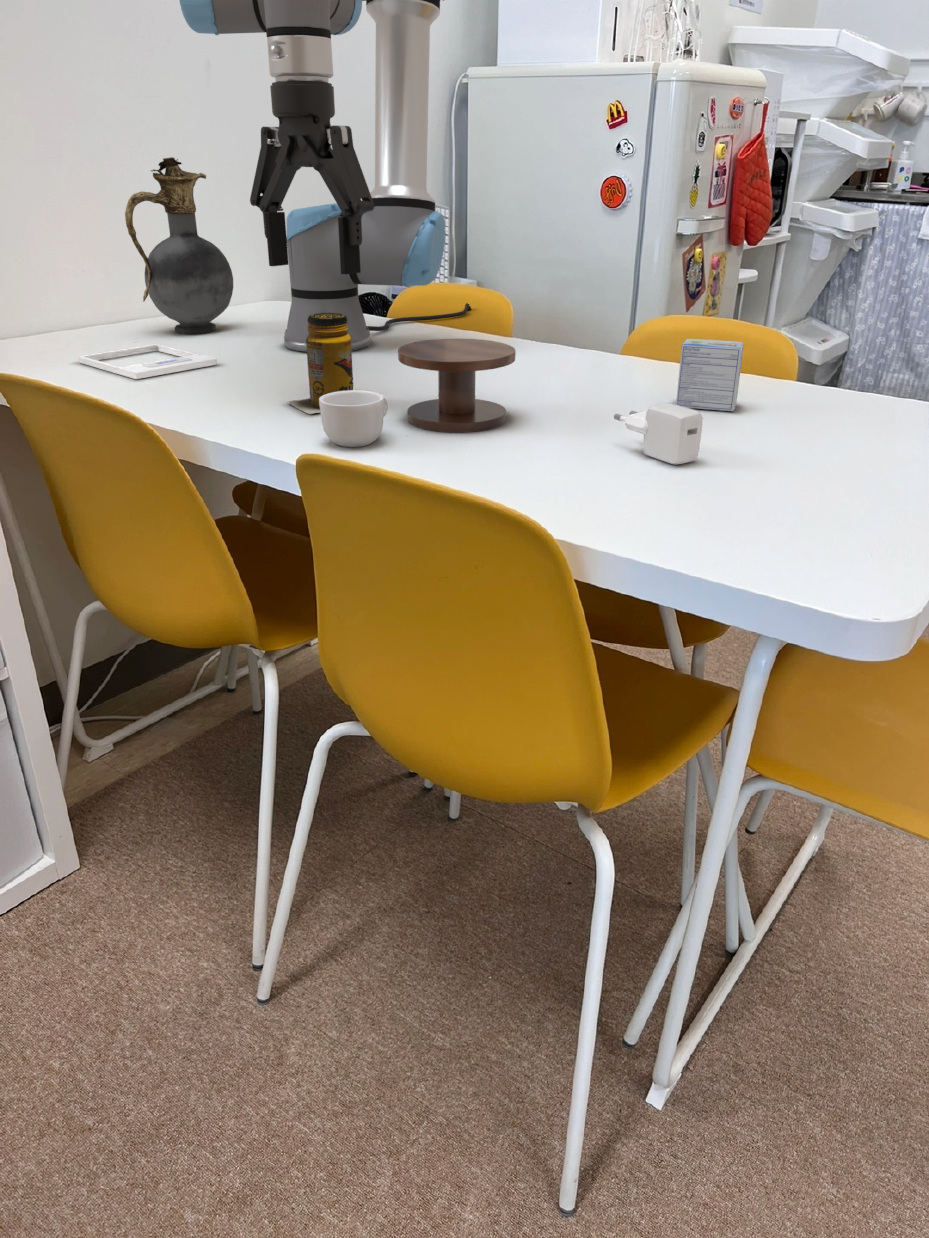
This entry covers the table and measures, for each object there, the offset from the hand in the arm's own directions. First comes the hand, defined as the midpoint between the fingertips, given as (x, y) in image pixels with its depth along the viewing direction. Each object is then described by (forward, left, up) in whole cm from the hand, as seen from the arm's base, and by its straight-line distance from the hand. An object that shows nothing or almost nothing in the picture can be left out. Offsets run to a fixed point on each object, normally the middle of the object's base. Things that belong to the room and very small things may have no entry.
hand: (313, 269), depth 121 cm
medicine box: (-33, +41, -18) cm, 56 cm away
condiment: (0, 0, -18) cm, 18 cm away
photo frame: (0, -42, -18) cm, 45 cm away
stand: (-6, +19, -18) cm, 27 cm away
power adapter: (-9, +46, -18) cm, 51 cm away
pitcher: (-23, -61, -18) cm, 67 cm away
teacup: (+9, +16, -18) cm, 25 cm away
